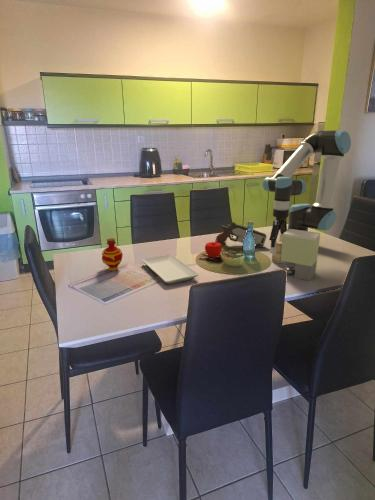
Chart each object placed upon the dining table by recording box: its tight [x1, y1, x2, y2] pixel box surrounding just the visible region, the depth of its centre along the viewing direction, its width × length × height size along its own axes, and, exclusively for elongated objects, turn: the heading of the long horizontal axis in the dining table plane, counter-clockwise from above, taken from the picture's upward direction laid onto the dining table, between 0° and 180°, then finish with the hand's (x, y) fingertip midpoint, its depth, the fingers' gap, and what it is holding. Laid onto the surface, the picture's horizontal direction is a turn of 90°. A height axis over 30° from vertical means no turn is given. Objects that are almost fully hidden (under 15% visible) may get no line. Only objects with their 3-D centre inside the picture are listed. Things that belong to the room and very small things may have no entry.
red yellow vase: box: [101, 237, 124, 272], centre depth 167 cm, size 10×10×15 cm
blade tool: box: [271, 240, 296, 267], centre depth 174 cm, size 4×15×10 cm, turn 58°
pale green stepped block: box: [281, 229, 321, 282], centre depth 158 cm, size 10×15×20 cm
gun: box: [214, 221, 268, 249], centre depth 201 cm, size 5×27×15 cm, turn 79°
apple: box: [204, 241, 223, 259], centre depth 183 cm, size 9×9×8 cm
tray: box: [141, 253, 200, 285], centre depth 164 cm, size 17×31×4 cm, turn 27°
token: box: [283, 266, 295, 276], centre depth 162 cm, size 6×6×2 cm
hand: (277, 249), depth 176 cm, fingers open, 13 cm apart
